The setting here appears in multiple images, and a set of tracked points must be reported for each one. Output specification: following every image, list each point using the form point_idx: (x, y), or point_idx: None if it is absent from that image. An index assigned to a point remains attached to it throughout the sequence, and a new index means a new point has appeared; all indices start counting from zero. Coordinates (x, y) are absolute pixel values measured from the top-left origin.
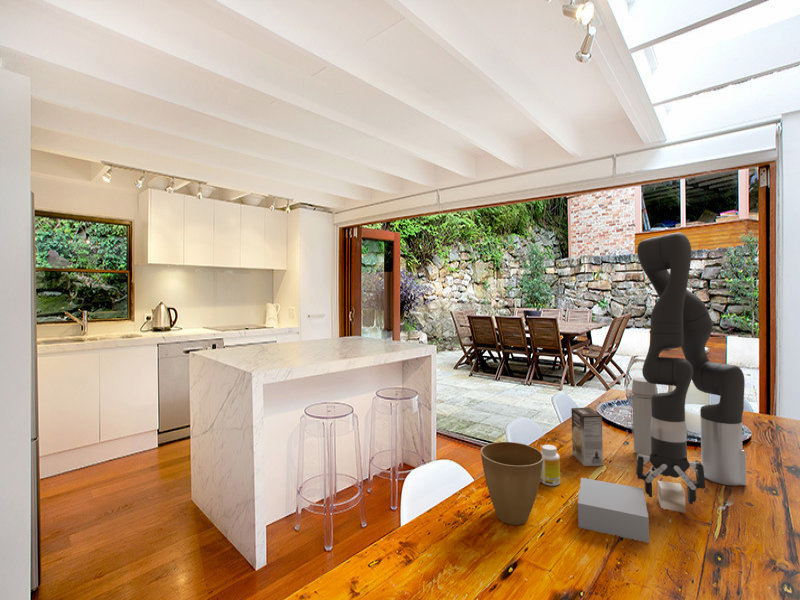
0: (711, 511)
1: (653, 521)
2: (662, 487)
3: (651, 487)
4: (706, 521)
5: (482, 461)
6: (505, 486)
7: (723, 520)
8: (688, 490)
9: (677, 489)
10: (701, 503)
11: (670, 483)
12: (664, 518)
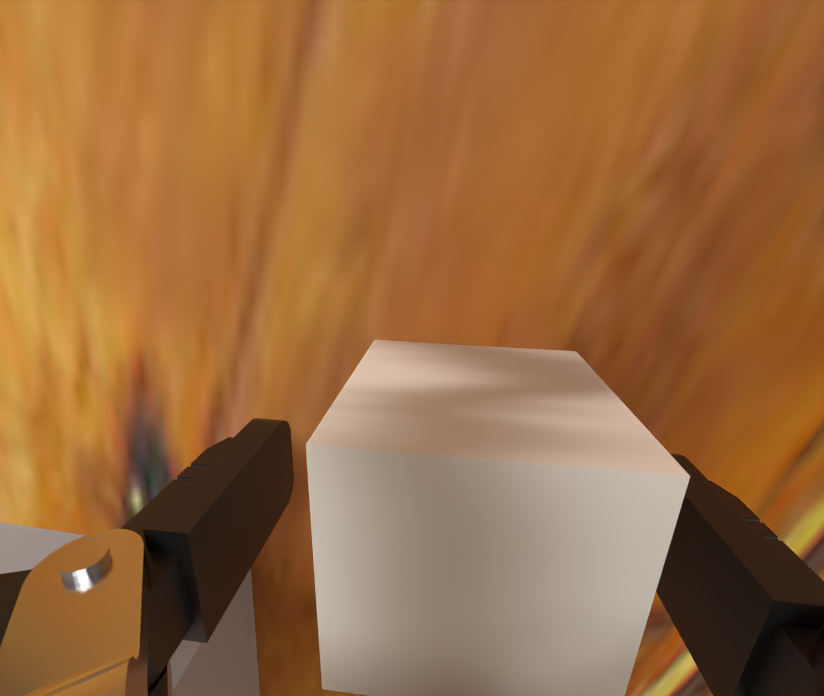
0: (806, 441)
1: (301, 655)
2: (348, 647)
3: (232, 585)
4: (658, 597)
5: None
6: None
7: (816, 559)
8: (713, 628)
9: (543, 665)
10: (802, 300)
11: (502, 506)
12: None
